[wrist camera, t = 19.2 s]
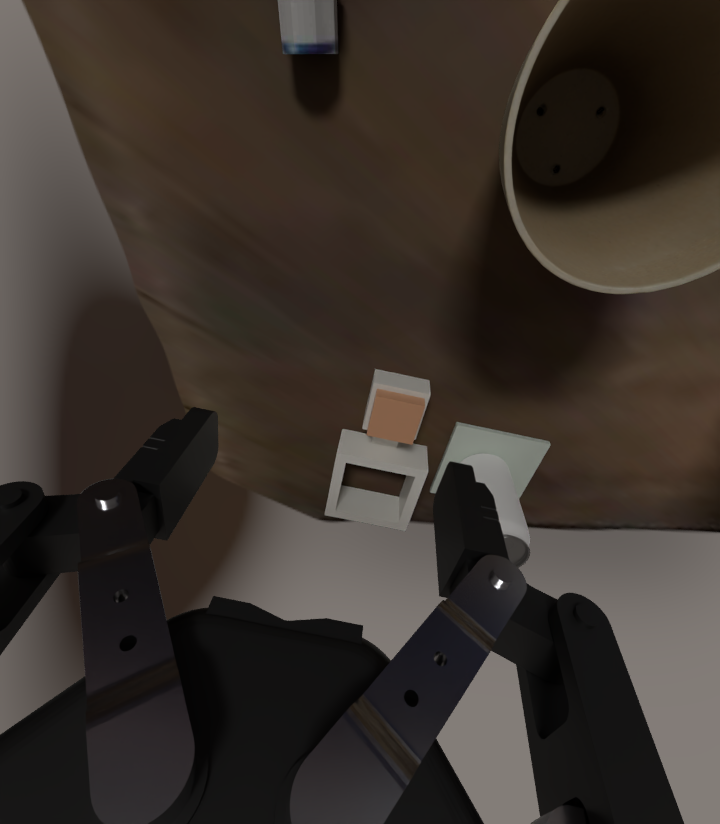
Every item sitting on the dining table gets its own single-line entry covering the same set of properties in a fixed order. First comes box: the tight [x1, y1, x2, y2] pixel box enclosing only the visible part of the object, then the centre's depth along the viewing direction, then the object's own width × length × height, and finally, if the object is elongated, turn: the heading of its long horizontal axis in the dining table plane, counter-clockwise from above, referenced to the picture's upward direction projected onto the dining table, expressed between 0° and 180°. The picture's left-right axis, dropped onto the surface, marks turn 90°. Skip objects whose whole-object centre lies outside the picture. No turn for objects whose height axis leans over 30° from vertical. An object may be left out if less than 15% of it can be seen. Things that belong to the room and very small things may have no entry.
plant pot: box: [499, 0, 720, 294], centre depth 24 cm, size 15×15×16 cm
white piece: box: [325, 369, 431, 531], centre depth 47 cm, size 10×19×4 cm, turn 169°
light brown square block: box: [366, 389, 425, 445], centre depth 43 cm, size 5×5×4 cm
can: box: [460, 453, 530, 568], centre depth 44 cm, size 6×6×12 cm
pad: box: [430, 422, 551, 499], centre depth 49 cm, size 11×11×1 cm
